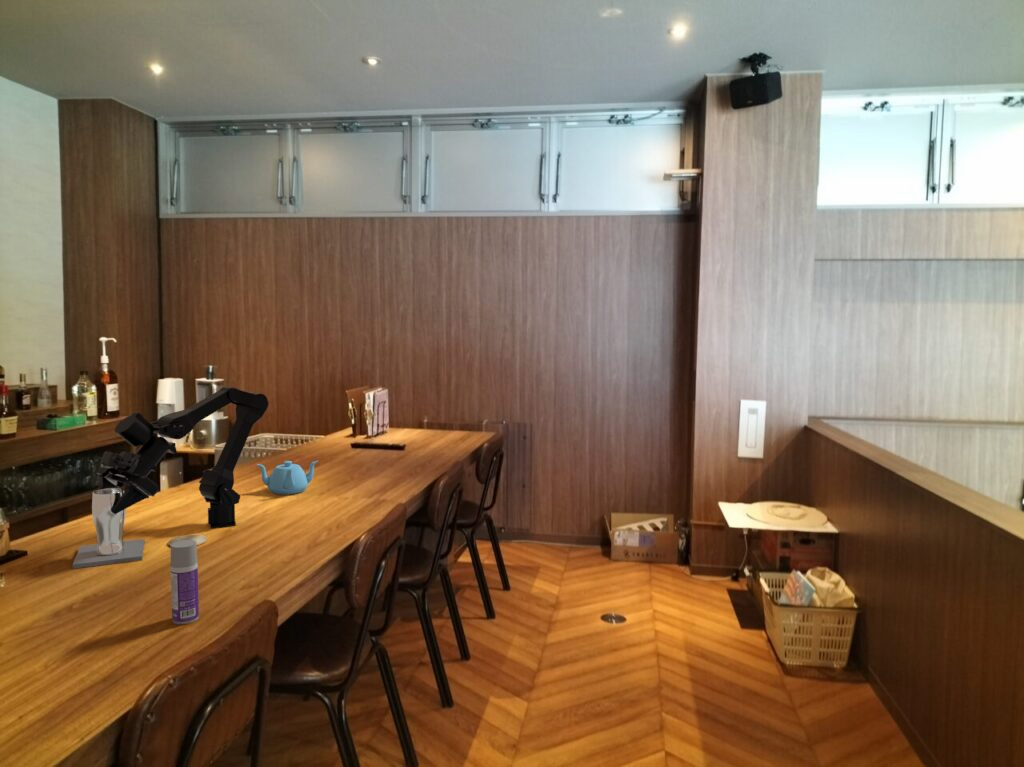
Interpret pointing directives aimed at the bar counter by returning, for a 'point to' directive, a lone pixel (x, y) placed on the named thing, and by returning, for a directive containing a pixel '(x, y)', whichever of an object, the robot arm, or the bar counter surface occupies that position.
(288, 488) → the teapot
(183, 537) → the metal coaster
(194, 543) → the container
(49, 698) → the bar counter surface
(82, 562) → the slate board
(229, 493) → the robot arm
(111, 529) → the beer glass
